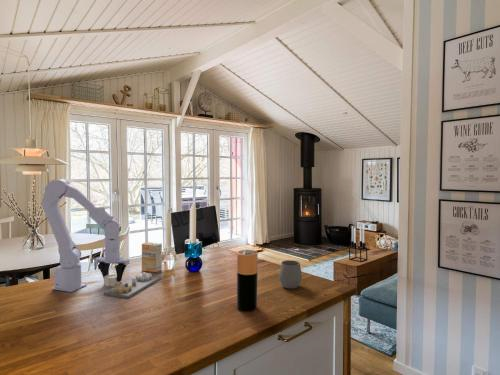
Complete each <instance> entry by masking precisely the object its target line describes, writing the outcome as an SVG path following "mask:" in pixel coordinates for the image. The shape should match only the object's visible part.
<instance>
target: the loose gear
mask: <svg viewBox="0 0 500 375" xmlns="http://www.w3.org/2000/svg"><path fill="white" fill-rule="evenodd" d="M121 283H122V280H121V281H119V282H117V273H116V272H115V273H114V272H111V273H109V274H108V275H106V276H104V278H103V285H104V286H105V287H115V286H117V285H118V284H121Z"/></svg>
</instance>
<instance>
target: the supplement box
mask: <svg viewBox="0 0 500 375" xmlns="http://www.w3.org/2000/svg"><path fill="white" fill-rule="evenodd" d="M162 246H163V243H162V242H161V243H159V242H149V241H147V242H143V243H142V244H141V272H147V271H149V272H148V273H155V272H157V273H159V272H161V271H162V270H161V269H163V268H162V266H163V265H162V264H163V263H162V261H163V260H162V258H163V257H162V256H163V254H162V251H163V250H162V249H163V247H162ZM161 254H162V255H161ZM160 270H161V271H160ZM158 271H159V272H158Z"/></svg>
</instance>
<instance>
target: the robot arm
mask: <svg viewBox="0 0 500 375" xmlns="http://www.w3.org/2000/svg"><path fill="white" fill-rule="evenodd" d="M43 193H44V194H43V198H42V201H41V207H42V208H43V210H44V213H45V216H46V218H47V220H48V223H49V225H50V228H51V231H52V233H53V236H54V238H55V241H56V242H57V246H58V254H59V264H60V265H58V266H57V267H56V268H55V270H54V275H53V279H54V280H53V281H54V286H53V287H52V290H56V291H63V292H68V293H72V292H74V291H77V290H79V289H81V288H83V287H86V286H87V283H82V263H81V262H80V258H82V252H81V249H80V248H78V247H77V246H76V243H75V242H74V241H73V240H72V237H71V234H70V231H69V229H68V227H67V225H66V222H65V219H64V216H63V215H62V214H63V213H62V212H61V209H60V206H59V202H60V201H61V199H63V198H62V197H64V198H69V199H73V200H74V201H76V202H77V204H79V205H80V206H82V207H83V208H84V209H85V210H87V211H88V216H89V218H90V219H91V220H92V221H94V222H95V223H96V224H97V225H98V226H99V227H102V228H103V232H104V256H97V257H96V258H95V260H94V261H95V264H97V268H99V269H98V270H99V271H100V272H101V275H102V278H103V279H104V276H106V275H108V274H110V273H109V271H110V264H113V265H114V264H116V265H115V266H114V269H115V273H117V282H119V281H121V282H122V280H123V279H122V278H123V275H124V272H125V270H126V268H127V266H128V265H129V264H130V259H129V258H125V257H121V250H120V249H121V248H120V241H121V240H120V231H119V230H120V227H121V226H120V225H121V224H120V221H118V219H117V218H115V216H114V215H111V214H110V213H108V212H107V211H106V208H105V207H104V206H103V207H102V206H100V205H95V204H94V202H92V201H91V200H90V199H89V198H88V197H87V196H86V195H85V194H84V193H83V192H82V191H81V190H79V188H78V187H76V185H74V184H73V183H70V181H68V179H65V178H57V179H56V178H55V179H52V180H50V181H49V182H48V183H47V184H46V186H45V187H44V192H43ZM98 263H99V264H98Z"/></svg>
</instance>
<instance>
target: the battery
mask: <svg viewBox="0 0 500 375" xmlns="http://www.w3.org/2000/svg"><path fill="white" fill-rule="evenodd" d="M236 252H237V253H236V307H237V309H238V310H239V311H243V312H252V311H254V310H257V308H258V271H259V270H258V264H259V262H258V260H259V259H258V255H259V254H258V251H256V250H253V249H252V250H251V249H243V250H242V249H241V250H237V251H236Z"/></svg>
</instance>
